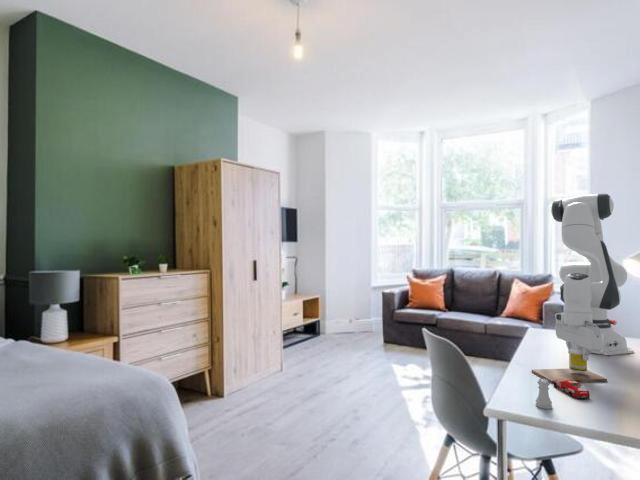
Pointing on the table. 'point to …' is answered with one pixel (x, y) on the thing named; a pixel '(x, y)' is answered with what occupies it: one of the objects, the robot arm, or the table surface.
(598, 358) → the table surface
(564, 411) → the table surface
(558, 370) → the walnut board
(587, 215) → the robot arm
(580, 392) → the race car
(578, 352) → the supplement bottle
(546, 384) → the rook chess piece
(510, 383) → the table surface
